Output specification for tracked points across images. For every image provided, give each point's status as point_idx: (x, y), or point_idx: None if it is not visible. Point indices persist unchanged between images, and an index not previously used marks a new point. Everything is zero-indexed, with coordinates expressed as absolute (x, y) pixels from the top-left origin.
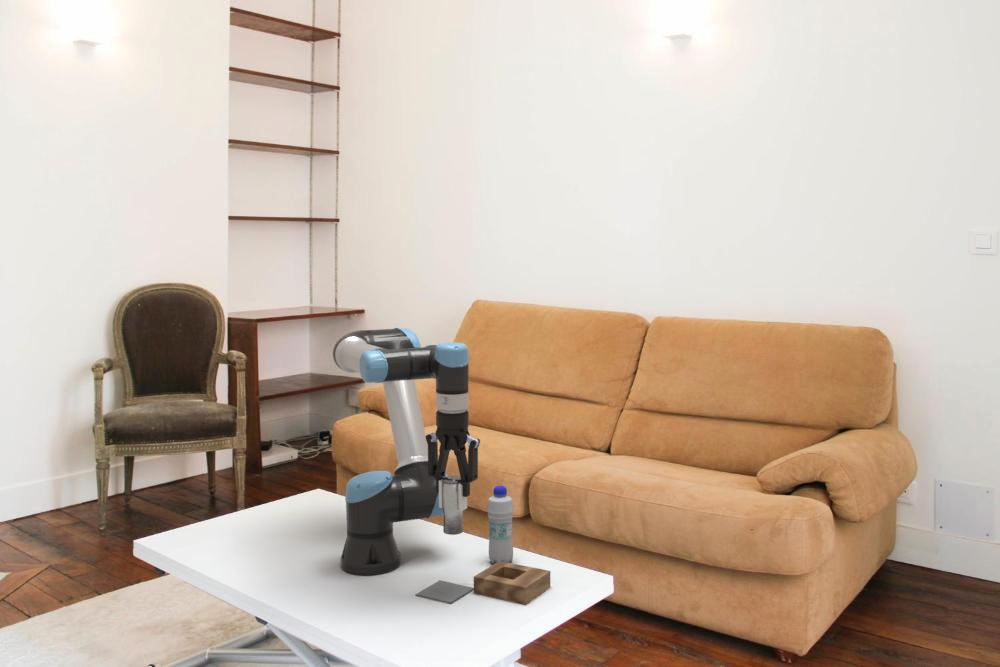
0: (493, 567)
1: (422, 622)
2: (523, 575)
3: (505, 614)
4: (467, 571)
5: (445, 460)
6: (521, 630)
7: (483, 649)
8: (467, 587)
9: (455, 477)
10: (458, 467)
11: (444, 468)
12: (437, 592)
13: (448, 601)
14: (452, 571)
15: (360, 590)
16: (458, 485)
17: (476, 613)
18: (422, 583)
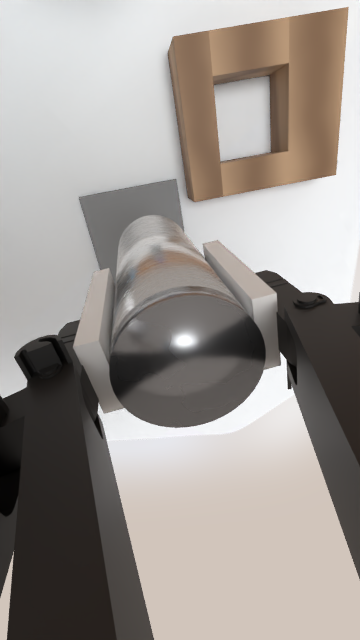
0: (194, 107)
1: None
2: (296, 103)
3: (300, 238)
4: (69, 82)
5: (117, 534)
6: (352, 270)
7: None
8: (161, 188)
9: (191, 344)
10: (322, 470)
11: (93, 434)
12: None
13: None
14: (40, 113)
15: (5, 337)
16: None
17: (253, 269)
18: (58, 231)
